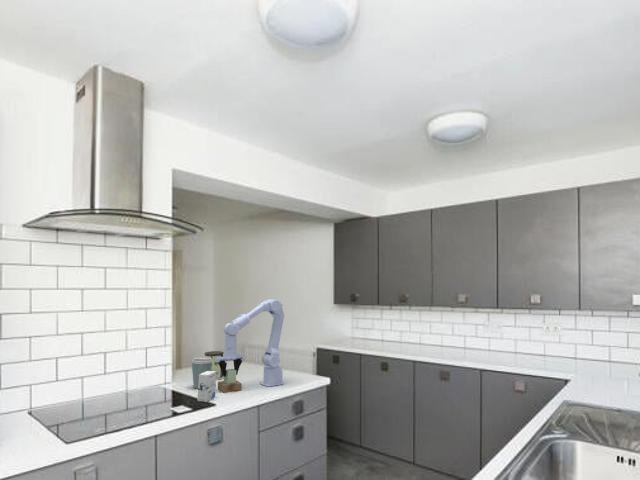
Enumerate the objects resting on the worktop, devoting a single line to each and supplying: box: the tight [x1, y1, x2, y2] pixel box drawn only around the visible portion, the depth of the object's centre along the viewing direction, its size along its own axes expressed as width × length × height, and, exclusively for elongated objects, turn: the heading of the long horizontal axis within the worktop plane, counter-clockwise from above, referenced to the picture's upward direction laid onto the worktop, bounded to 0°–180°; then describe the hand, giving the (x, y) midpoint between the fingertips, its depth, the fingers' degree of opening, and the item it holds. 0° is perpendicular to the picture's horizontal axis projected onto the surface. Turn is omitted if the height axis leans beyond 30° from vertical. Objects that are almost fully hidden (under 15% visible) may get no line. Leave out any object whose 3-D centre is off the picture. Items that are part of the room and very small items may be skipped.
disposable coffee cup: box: [190, 356, 213, 390], centre depth 216 cm, size 11×11×15 cm
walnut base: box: [217, 379, 242, 394], centre depth 211 cm, size 9×9×4 cm
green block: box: [223, 368, 237, 384], centre depth 211 cm, size 4×4×6 cm
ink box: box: [197, 371, 217, 403], centre depth 194 cm, size 9×5×12 cm, turn 168°
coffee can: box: [204, 350, 224, 381], centre depth 237 cm, size 10×10×14 cm
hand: (229, 375), depth 211 cm, fingers open, 6 cm apart
